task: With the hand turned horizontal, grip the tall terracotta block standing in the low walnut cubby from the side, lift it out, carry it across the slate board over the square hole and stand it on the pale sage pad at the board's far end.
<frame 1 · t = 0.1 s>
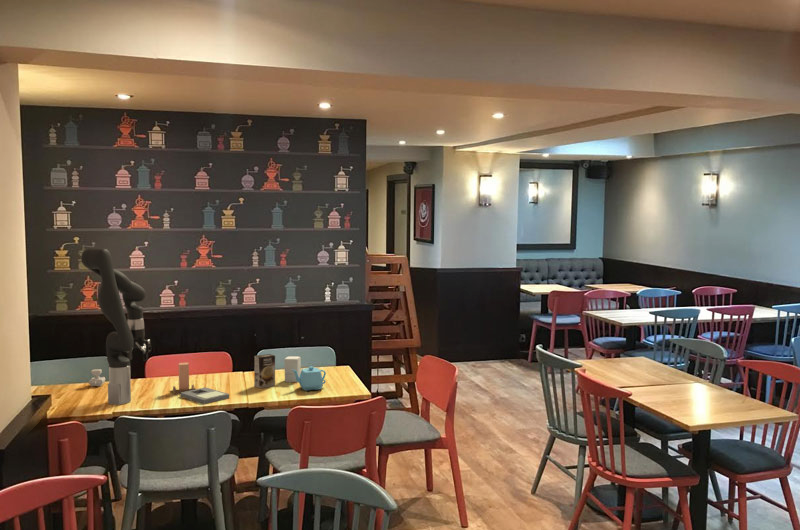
hand: (138, 360, 316), 17 cm above the table, tool pointing down, fingers open, 8 cm apart
stamp: (97, 386, 335), on the table
supplement box: (292, 381, 349), on the table
teapot: (308, 389, 332), on the table
board: (204, 397, 314), on the table
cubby: (184, 391, 325), on the table
terracotta block: (183, 377, 325), in the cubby
coffee box: (264, 386, 337), on the table
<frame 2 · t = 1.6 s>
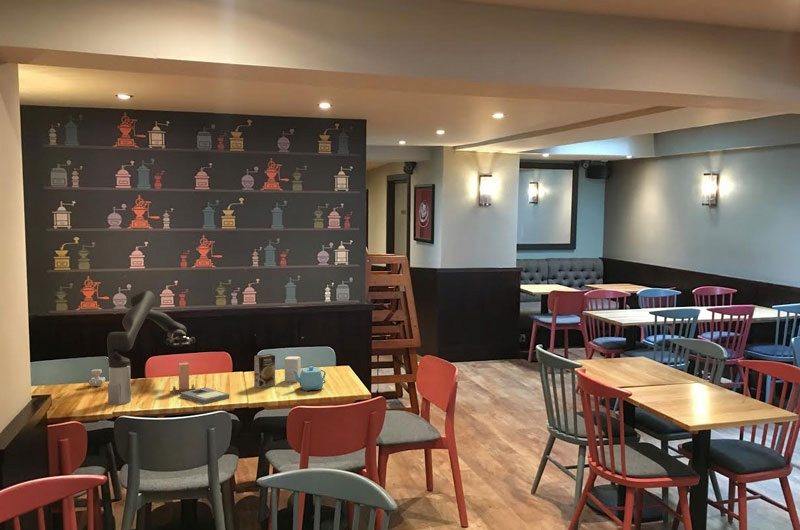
hand: (181, 343, 334), 22 cm above the table, tool horizontal, fingers open, 8 cm apart
nothing on the table moved.
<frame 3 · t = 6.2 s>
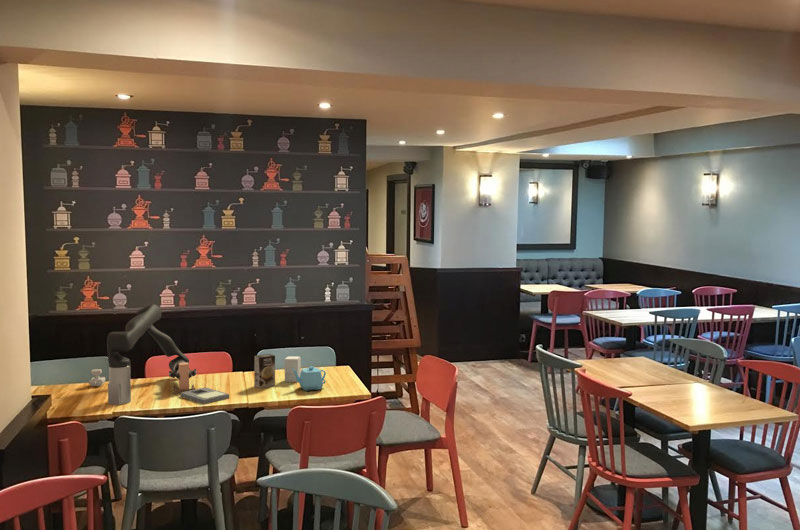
hand: (184, 376, 322), 8 cm above the table, tool horizontal, fingers closed on terracotta block, 4 cm apart
terracotta block: (183, 377, 325), in the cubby, touching gripper
everything else where it was.
when the fingers open (11 cm above the table, at t = 11.7 s): terracotta block drops 1 cm, resting on board.
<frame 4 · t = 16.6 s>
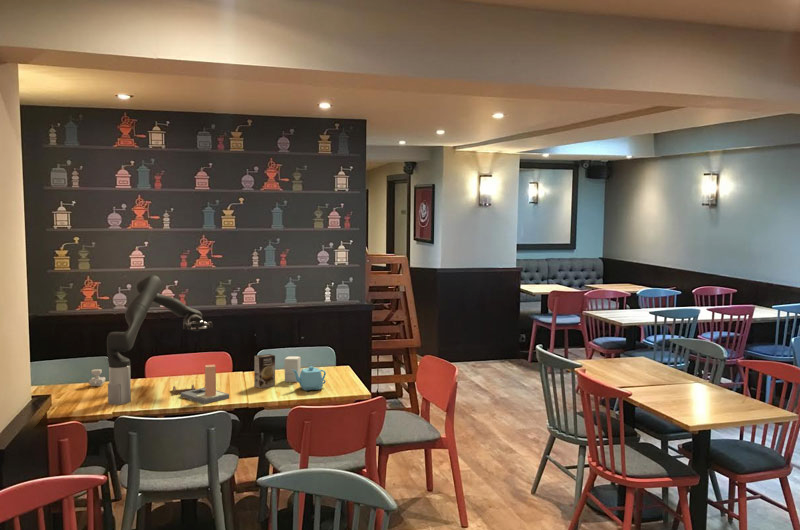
hand: (199, 327, 326), 32 cm above the table, tool horizontal, fingers open, 8 cm apart
terracotta block: (210, 380, 310), on the board, point 9 cm above the table
everything else where it was.
at the end: terracotta block inside the target area (0.0 cm from its centre), point 9.2 cm above the table; terracotta block tilted 0°; the gripper is holding nothing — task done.
